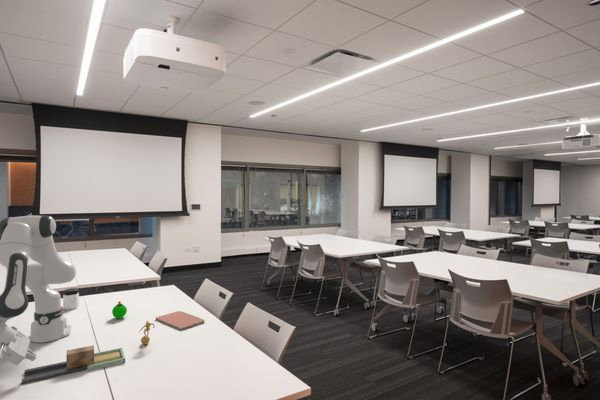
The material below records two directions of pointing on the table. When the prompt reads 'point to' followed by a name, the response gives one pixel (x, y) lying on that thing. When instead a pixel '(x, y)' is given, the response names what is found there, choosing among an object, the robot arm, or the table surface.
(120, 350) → the tray
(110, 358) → the brass chip
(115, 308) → the ornament
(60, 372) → the slot bed
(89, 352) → the brown wooden block
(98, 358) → the brass chip
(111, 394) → the table surface
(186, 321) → the notebook
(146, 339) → the figurine
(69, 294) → the jar
